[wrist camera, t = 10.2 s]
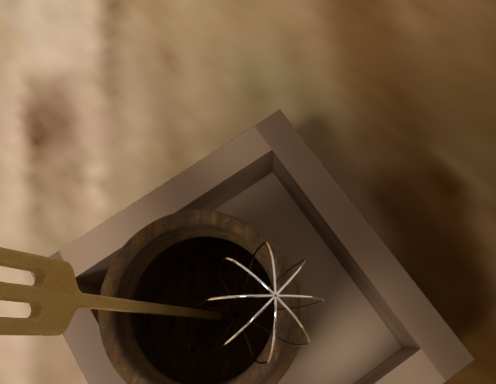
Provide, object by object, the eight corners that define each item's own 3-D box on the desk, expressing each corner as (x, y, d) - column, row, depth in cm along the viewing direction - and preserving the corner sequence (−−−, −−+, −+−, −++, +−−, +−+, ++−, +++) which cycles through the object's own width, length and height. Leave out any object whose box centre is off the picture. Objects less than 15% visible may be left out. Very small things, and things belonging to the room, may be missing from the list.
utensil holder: (304, 398, 18) (351, 507, 6) (137, 398, 18) (-112, 500, 7) (298, 241, 19) (325, 99, 8) (146, 243, 20) (-38, 111, 8)
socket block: (204, 531, 17) (187, 577, 14) (69, 280, 20) (29, 269, 17) (439, 355, 19) (474, 359, 15) (279, 144, 22) (279, 109, 18)
